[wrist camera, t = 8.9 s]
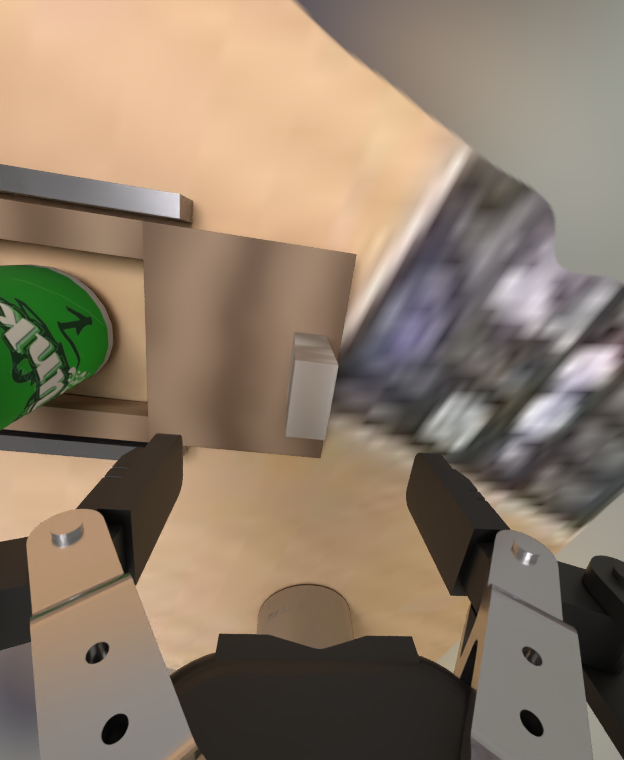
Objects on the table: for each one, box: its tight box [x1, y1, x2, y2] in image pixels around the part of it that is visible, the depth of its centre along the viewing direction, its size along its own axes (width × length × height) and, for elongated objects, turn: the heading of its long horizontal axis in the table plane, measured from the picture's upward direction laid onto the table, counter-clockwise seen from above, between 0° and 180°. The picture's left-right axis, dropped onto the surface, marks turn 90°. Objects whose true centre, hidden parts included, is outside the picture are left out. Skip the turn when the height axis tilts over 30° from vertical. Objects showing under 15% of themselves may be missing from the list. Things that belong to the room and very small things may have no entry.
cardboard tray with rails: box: [0, 199, 356, 458], centre depth 19 cm, size 25×14×8 cm, turn 82°
